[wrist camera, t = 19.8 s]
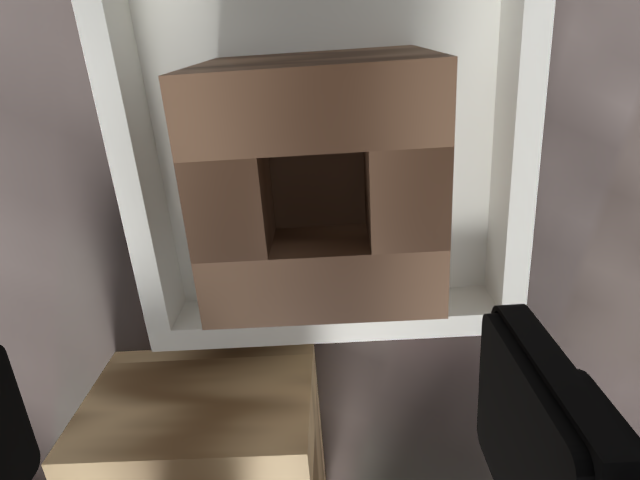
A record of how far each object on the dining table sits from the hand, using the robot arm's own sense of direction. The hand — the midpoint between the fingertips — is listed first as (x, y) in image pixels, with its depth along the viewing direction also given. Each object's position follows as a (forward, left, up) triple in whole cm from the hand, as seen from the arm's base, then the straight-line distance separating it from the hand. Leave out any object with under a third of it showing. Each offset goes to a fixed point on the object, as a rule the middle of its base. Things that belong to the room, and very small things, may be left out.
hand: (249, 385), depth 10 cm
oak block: (-3, -9, -9) cm, 14 cm away
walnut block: (+1, +3, -9) cm, 9 cm away
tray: (+2, +3, -9) cm, 10 cm away
